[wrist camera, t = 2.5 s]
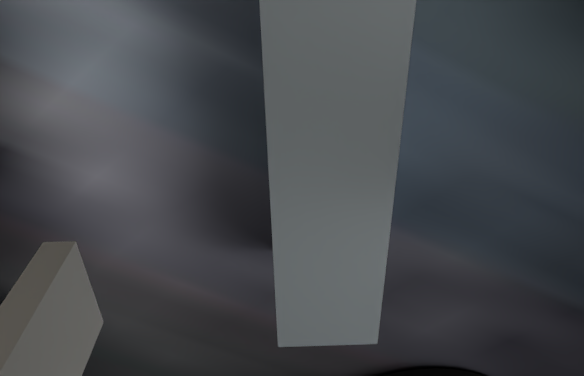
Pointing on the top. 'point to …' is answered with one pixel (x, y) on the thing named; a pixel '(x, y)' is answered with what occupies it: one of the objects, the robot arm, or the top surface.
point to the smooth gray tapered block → (332, 159)
